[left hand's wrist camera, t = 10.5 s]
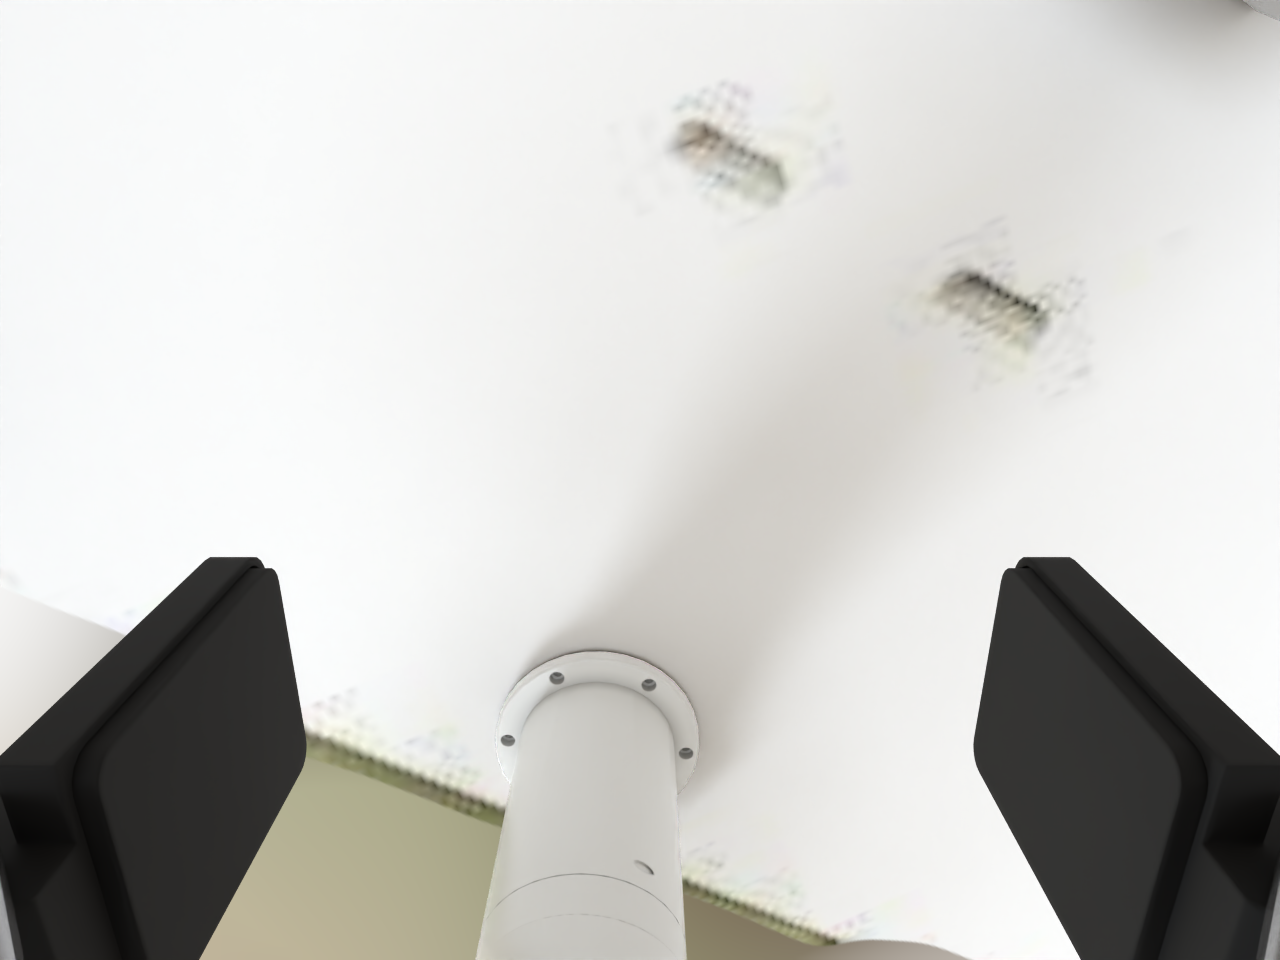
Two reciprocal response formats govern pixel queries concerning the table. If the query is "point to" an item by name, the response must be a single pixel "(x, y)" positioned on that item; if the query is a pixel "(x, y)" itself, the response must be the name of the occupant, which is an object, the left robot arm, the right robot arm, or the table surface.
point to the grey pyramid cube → (1266, 7)
